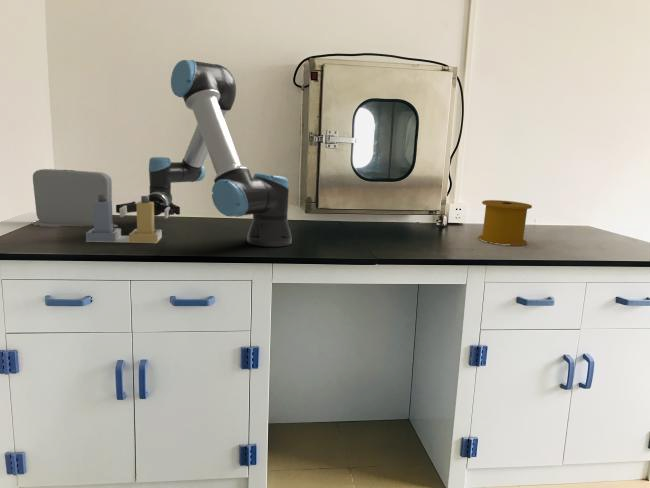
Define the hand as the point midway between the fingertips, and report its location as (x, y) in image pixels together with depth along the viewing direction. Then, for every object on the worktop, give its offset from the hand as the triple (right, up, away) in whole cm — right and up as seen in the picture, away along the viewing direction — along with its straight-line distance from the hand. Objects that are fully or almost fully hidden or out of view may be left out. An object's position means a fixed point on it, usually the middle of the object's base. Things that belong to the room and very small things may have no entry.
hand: (143, 213), depth 165 cm
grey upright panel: (-34, -3, +26) cm, 43 cm away
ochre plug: (-1, -8, +5) cm, 10 cm away
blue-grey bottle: (-14, -8, +3) cm, 16 cm away
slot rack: (-7, -9, +4) cm, 12 cm away
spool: (+126, -9, +38) cm, 132 cm away
